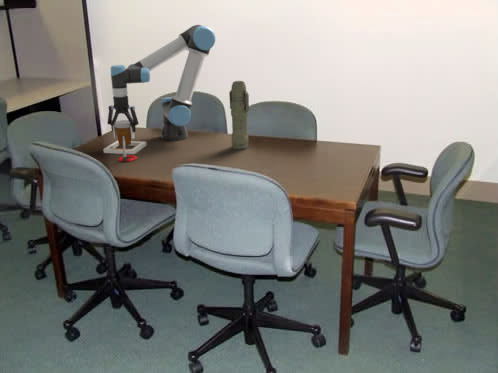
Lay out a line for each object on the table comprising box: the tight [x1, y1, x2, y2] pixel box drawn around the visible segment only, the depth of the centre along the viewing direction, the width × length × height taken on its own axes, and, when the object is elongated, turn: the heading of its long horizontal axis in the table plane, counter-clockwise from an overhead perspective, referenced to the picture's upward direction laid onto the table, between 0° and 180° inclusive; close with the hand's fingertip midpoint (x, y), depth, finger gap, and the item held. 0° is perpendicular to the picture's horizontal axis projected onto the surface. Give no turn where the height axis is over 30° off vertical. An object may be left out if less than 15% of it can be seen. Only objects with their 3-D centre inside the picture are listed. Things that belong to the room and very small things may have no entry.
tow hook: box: [118, 136, 138, 163], centre depth 278 cm, size 8×13×9 cm
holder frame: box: [103, 140, 148, 155], centre depth 297 cm, size 17×17×2 cm
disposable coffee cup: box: [114, 119, 132, 147], centre depth 294 cm, size 10×10×12 cm
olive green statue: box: [228, 80, 250, 150], centre depth 290 cm, size 9×12×35 cm
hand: (124, 137), depth 295 cm, fingers closed on disposable coffee cup, 9 cm apart
